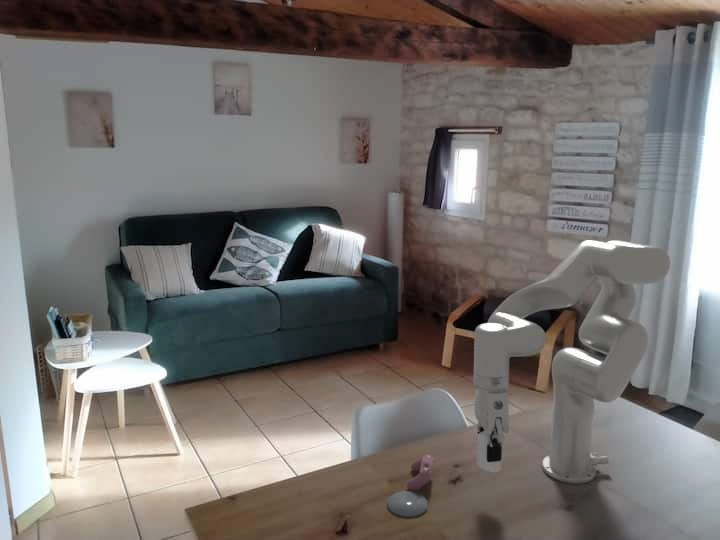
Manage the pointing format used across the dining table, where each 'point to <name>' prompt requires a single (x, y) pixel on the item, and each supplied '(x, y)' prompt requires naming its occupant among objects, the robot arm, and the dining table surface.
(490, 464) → the eye dropper bottle
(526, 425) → the dining table surface
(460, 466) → the dining table surface
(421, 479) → the video game controller
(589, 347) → the robot arm
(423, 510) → the glossy grey pebble
